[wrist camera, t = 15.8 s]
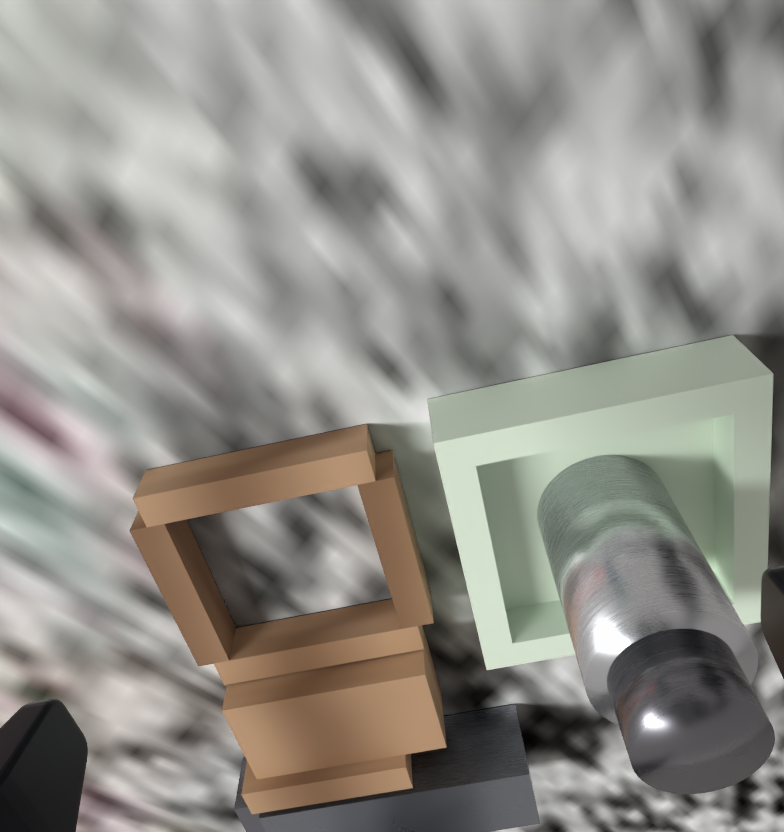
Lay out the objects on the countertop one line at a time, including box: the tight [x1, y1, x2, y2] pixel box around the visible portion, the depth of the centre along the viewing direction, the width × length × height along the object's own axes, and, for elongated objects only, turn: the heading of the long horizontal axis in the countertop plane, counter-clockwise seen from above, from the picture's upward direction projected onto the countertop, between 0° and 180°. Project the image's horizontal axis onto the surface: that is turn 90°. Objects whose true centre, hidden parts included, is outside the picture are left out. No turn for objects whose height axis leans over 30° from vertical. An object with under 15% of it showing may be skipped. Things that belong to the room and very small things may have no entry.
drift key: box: [234, 704, 540, 832], centre depth 29 cm, size 11×3×3 cm, turn 103°
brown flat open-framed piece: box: [130, 424, 447, 814], centre depth 26 cm, size 8×18×3 cm, turn 13°
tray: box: [427, 335, 773, 670], centre depth 23 cm, size 9×9×2 cm
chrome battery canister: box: [537, 455, 775, 794], centre depth 20 cm, size 4×4×8 cm
